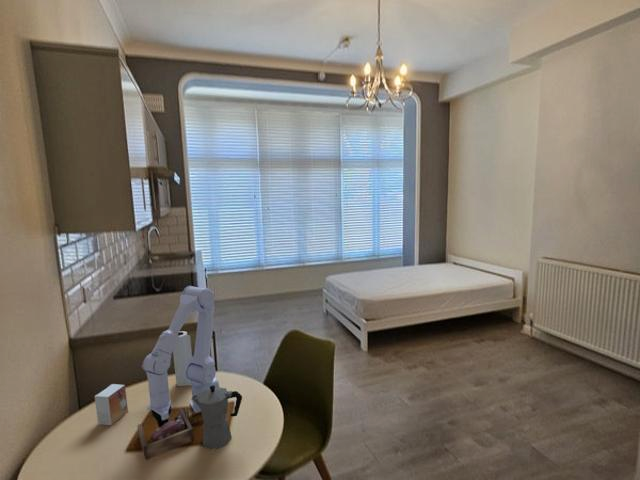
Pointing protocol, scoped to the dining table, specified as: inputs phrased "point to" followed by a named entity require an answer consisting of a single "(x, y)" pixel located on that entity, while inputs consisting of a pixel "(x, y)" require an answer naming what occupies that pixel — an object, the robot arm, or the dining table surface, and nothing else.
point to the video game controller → (167, 429)
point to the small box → (111, 404)
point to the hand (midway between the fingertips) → (163, 428)
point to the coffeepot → (216, 415)
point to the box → (166, 440)
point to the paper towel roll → (182, 358)
